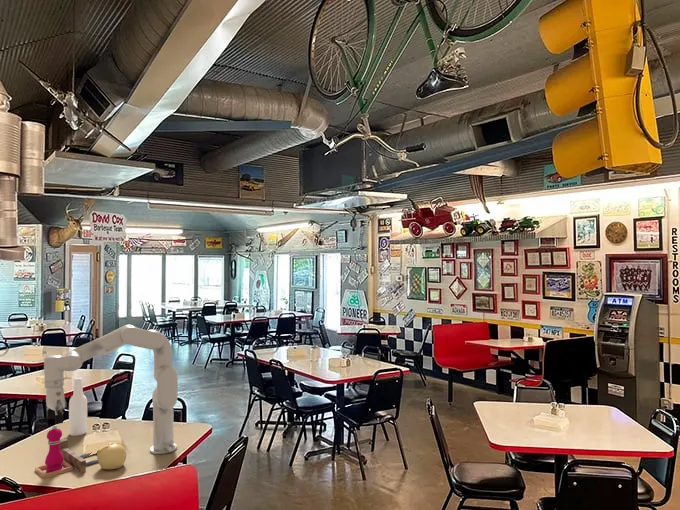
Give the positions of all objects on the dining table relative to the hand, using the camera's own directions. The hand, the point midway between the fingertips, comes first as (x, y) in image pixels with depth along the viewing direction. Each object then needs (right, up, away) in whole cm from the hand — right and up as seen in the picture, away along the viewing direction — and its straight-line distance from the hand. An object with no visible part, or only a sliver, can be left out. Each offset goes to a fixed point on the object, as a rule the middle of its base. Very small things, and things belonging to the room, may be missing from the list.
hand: (55, 421), depth 224 cm
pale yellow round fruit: (+24, -22, +3) cm, 33 cm away
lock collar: (0, -22, -1) cm, 22 cm away
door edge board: (+4, -22, +7) cm, 23 cm away
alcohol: (-15, -23, +48) cm, 55 cm away
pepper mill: (0, -22, 0) cm, 22 cm away
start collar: (+10, -22, +11) cm, 27 cm away
